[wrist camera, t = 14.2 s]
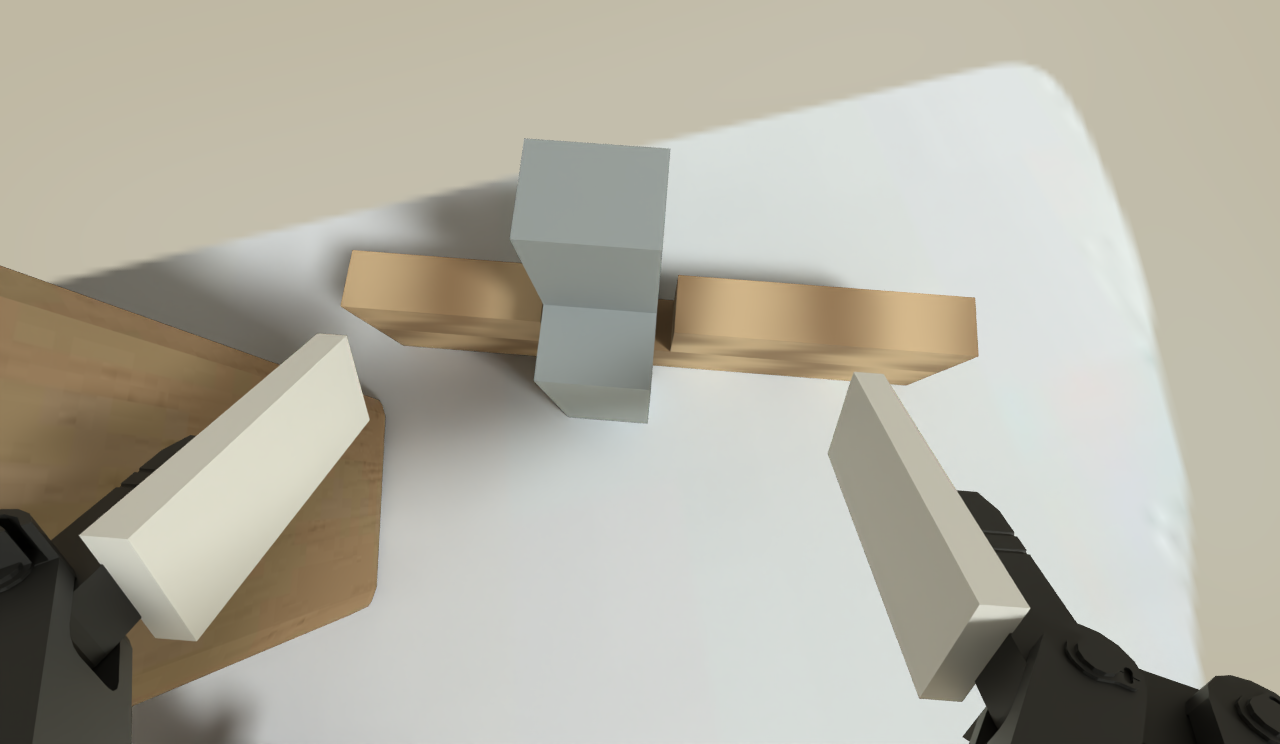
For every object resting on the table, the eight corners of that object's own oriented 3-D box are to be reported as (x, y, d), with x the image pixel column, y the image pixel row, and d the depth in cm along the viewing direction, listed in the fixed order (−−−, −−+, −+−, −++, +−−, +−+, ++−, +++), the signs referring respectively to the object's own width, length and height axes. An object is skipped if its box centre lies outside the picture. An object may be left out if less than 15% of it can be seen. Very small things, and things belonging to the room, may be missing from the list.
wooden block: (197, 408, 27) (-931, 191, 8) (394, 397, 27) (-220, 159, 8) (169, 620, 25) (-1511, 1073, 5) (384, 607, 25) (-510, 1010, 6)
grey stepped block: (647, 423, 27) (654, 352, 13) (568, 417, 27) (494, 340, 13) (659, 266, 29) (676, 62, 15) (585, 261, 29) (537, 53, 15)
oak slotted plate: (403, 345, 28) (340, 306, 22) (411, 300, 28) (352, 250, 23) (906, 385, 27) (978, 356, 22) (904, 338, 28) (974, 297, 22)
